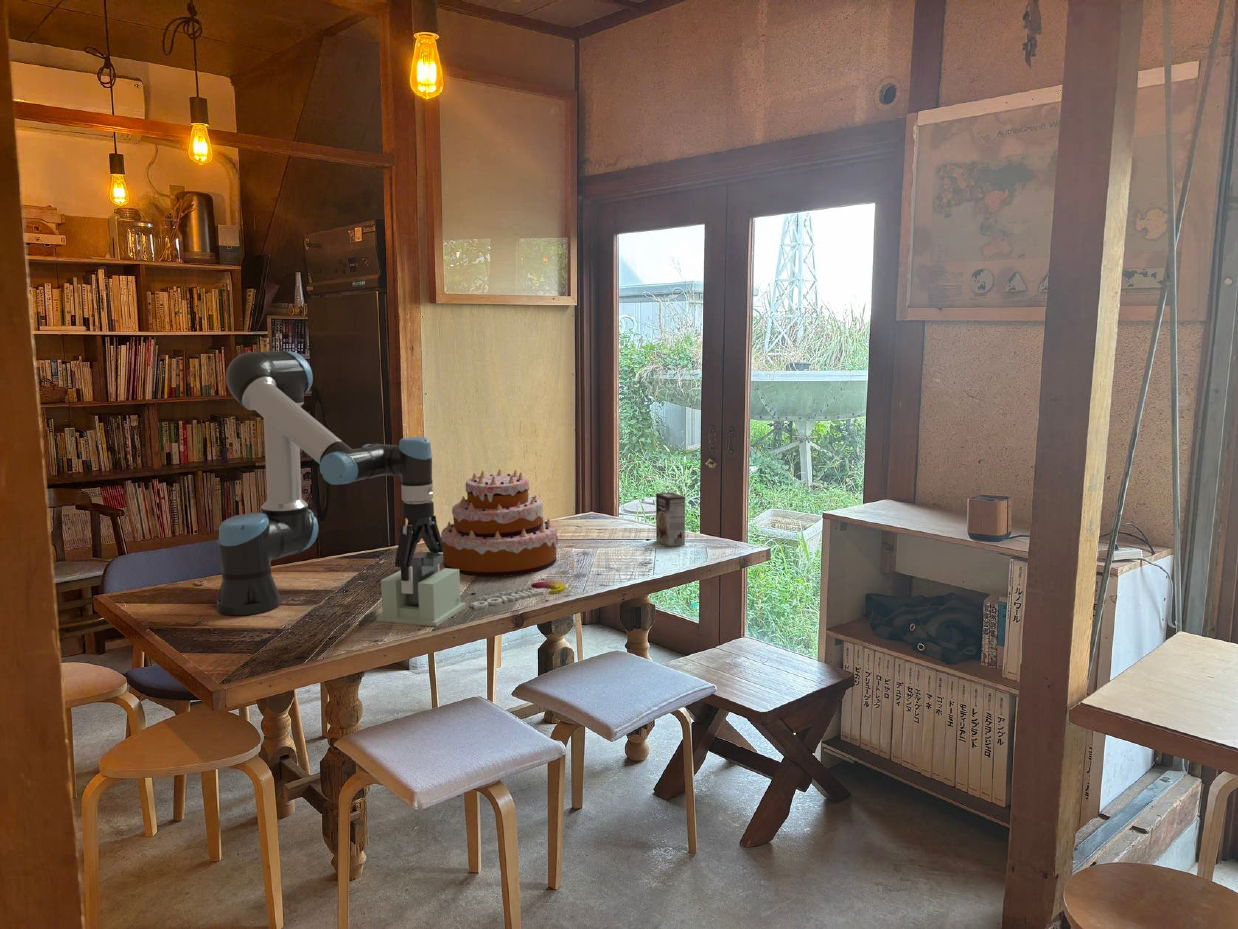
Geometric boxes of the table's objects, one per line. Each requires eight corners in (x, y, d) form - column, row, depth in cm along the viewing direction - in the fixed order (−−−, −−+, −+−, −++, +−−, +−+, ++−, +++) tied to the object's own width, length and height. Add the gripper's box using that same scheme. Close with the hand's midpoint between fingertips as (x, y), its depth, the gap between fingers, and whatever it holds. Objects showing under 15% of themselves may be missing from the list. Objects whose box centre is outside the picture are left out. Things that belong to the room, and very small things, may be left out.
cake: (572, 570, 264) (571, 476, 260) (453, 582, 252) (450, 485, 248) (539, 544, 296) (537, 461, 292) (432, 554, 284) (429, 467, 280)
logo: (551, 579, 251) (572, 586, 243) (551, 583, 251) (572, 590, 244) (458, 599, 232) (478, 608, 225) (458, 603, 233) (478, 612, 225)
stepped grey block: (408, 612, 221) (406, 557, 219) (420, 605, 227) (418, 551, 225) (434, 615, 219) (432, 559, 217) (446, 607, 225) (443, 553, 223)
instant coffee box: (655, 541, 299) (655, 493, 297) (672, 539, 302) (672, 491, 300) (668, 546, 291) (668, 497, 289) (685, 544, 294) (685, 496, 291)
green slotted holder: (376, 621, 218) (374, 581, 217) (409, 602, 233) (407, 564, 232) (436, 626, 214) (434, 585, 212) (465, 606, 229) (464, 568, 228)
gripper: (406, 511, 207) (409, 601, 210) (454, 492, 230) (457, 573, 233) (377, 510, 209) (381, 598, 212) (428, 491, 232) (431, 571, 235)
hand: (421, 585), depth 223 cm, fingers open, 13 cm apart
